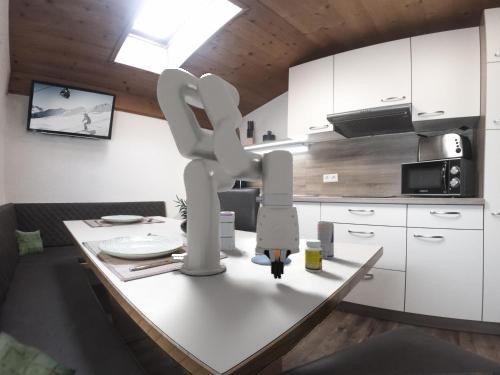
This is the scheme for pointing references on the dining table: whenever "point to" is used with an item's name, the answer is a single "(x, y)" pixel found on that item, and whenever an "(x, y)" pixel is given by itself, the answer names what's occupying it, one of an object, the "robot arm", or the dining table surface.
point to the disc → (266, 260)
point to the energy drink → (326, 239)
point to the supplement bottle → (313, 256)
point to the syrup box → (227, 230)
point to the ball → (276, 253)
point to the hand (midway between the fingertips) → (277, 276)
